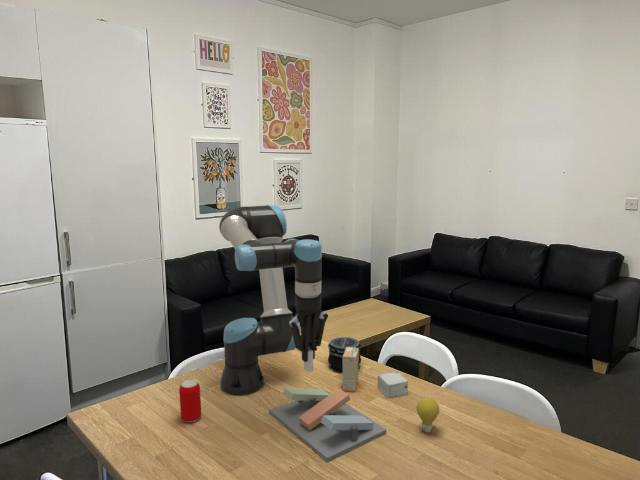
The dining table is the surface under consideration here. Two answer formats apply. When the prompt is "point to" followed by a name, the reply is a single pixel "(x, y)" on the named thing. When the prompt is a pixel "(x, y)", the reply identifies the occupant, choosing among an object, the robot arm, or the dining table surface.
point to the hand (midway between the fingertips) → (308, 370)
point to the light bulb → (427, 412)
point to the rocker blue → (346, 422)
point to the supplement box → (350, 369)
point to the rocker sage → (305, 394)
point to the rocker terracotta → (324, 408)
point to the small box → (392, 384)
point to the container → (341, 352)
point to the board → (325, 429)
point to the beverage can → (190, 401)
